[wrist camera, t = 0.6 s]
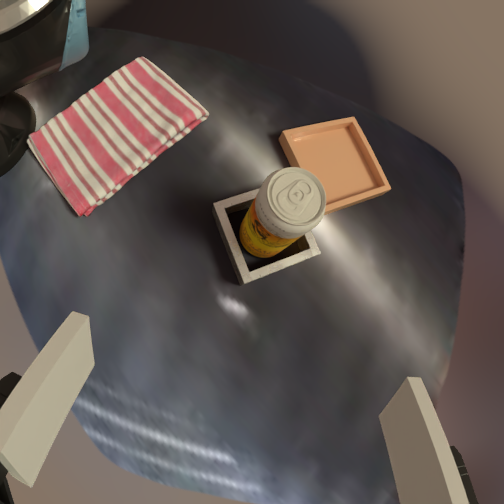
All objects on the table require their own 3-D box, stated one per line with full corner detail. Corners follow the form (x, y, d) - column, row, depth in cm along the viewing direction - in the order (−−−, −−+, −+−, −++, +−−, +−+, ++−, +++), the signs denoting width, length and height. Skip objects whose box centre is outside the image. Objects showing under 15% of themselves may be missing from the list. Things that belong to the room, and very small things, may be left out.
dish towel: (30, 148, 38) (21, 137, 35) (145, 61, 44) (143, 47, 41) (85, 224, 38) (76, 217, 35) (212, 118, 44) (214, 105, 40)
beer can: (228, 235, 41) (247, 194, 26) (260, 203, 42) (292, 150, 27) (263, 268, 41) (302, 245, 26) (294, 234, 42) (343, 196, 28)
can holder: (211, 212, 41) (213, 203, 37) (281, 189, 43) (288, 179, 40) (240, 285, 40) (244, 283, 36) (310, 257, 42) (320, 253, 38)
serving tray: (278, 139, 44) (282, 130, 42) (347, 124, 47) (354, 116, 45) (314, 218, 43) (321, 213, 41) (382, 194, 46) (391, 189, 43)
